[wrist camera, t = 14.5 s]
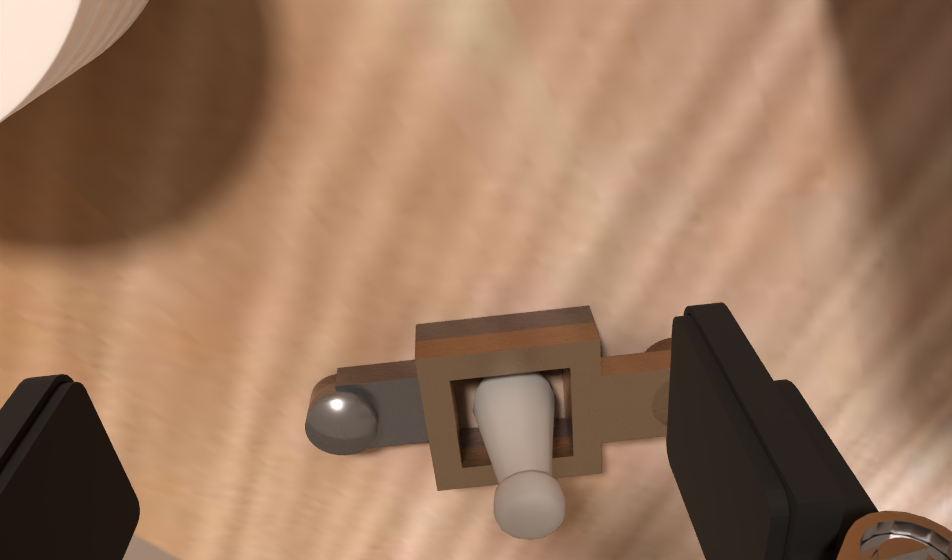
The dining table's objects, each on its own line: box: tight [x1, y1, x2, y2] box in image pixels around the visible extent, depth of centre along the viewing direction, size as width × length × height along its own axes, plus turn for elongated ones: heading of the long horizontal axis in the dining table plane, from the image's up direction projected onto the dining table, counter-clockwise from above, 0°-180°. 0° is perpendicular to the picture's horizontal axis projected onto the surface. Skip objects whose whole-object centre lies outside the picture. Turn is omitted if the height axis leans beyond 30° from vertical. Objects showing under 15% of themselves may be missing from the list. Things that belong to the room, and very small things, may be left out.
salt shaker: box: [473, 371, 566, 540], centre depth 49 cm, size 6×6×13 cm
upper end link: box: [415, 322, 672, 491], centre depth 53 cm, size 20×12×4 cm, turn 95°
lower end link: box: [305, 306, 594, 455], centre depth 53 cm, size 20×12×3 cm, turn 95°
